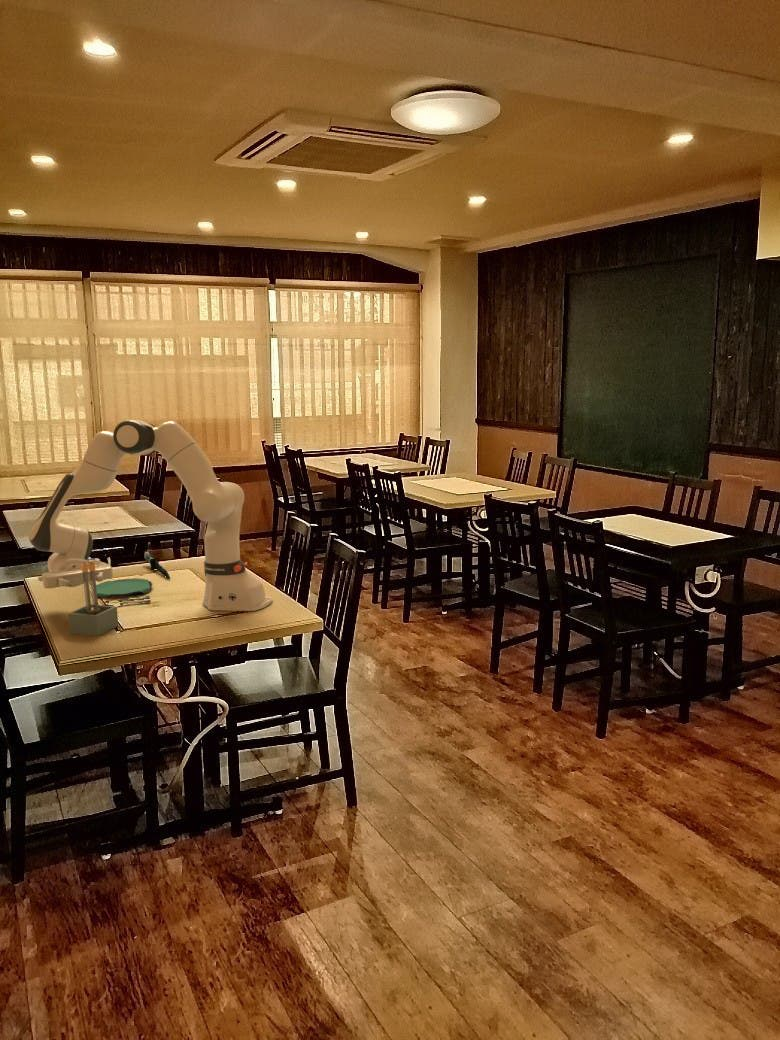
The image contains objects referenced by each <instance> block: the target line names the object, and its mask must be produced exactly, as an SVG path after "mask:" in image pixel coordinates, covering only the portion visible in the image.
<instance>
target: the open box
mask: <svg viewBox="0 0 780 1040" xmlns="http://www.w3.org/2000/svg"><path fill="white" fill-rule="evenodd" d="M91 607H93V603H91ZM85 608H86V605H84V606H83V607H80V608H78V609H76V610H73V611H71V612H69V613H68V614H67V615H68V617H67V618H68V626H69V633H70V634H72V633H73V634H72V635H74V634H75V635H84V636H92V637H99V636H101V635H103V634H105V633H107V632H109V631H111V630H114V629H115V628H117V627H119V617H118V607H115V606H112V605H105V604H103V605H101V604H98V608H100V611H99V614H97V615H93V614H94V613H92V615H89V614H87V612H86V611H85Z"/></svg>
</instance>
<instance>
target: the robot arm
mask: <svg viewBox="0 0 780 1040" xmlns="http://www.w3.org/2000/svg"><path fill="white" fill-rule="evenodd" d="M154 452H158V453H159V454H160V455H161V456H162V458H163V459H164V460H165V462H166V463H167V464H168V465H169V466H170V468H171V469H172V470H173V472H174V474H175V475H176V476H177V477H178V479H179V480H180V481H181V483H182V484H183V486H184V488H185V489H186V492H187V493H188V497H189V498H190V500H191V503H192V511H193V513H194V515H195V516H196V517H197V519H199V521H203V522H205V523H207V526H206V531H205V534H204V539H203V541H204V559H205V560H204V562H203V565H204V566H203V568H204V577H205V589H204V595H203V600H202V605H203V606H204V607H206V608H207V610H209V611H224V612H225V611H230V612H232V611H234V612H238V611H239V612H254V611H259V610H261V609H264V608H266V607H268V606H269V605H270V604H272V603H273V598H272V596H268V595H266V593H265V587H264V585H263V583H262V581H260V580H259V579H257V578H256V577H254V576H253V575H252V574H251V573H250V572H248V571H247V568H246V566H247V565H248V561H245V562H243V560H242V559H241V552H240V550H241V549H240V529H241V522H242V512H243V505H244V502H245V492H244V490H243V488H242V487H241V486H240V485H239V484H237V483H234V482H229V481H221V482H220V481H219V480H218V478H217V475H216V474H215V472H214V469H213V465H212V464H213V463H212V462H211V460H210V459H209V458H208V456H207V454H206V453H205V452H204V450H202V448H201V447H200V445H199V444H198V443H197V441H195V439H194V438H193V437H192V436H191V434H190V433H189V432H187V430H186V429H184V428H183V426H181V425H180V424H179V423H178V422H176V421H173V420H169V421H165V422H162V423H160V424H159V425H157V426H155V425H153V424H152V423H149V422H147V421H144V420H140V419H126V420H123V421H121V422H120V423H118V424H117V425H116V426H115V428H114V430H113V432H112V431H108V430H103V431H99V432H97V433H96V434H95V435H94V436H93V438H92V439H91V441H90V443H89V445H88V446H87V449H86V450H85V453H84V455H83V458H82V461H81V463H80V465H79V466H78V467H77V468H76V469H75V470H74V471H72V472H69V473H67V474H65V475H64V476H63V478H62V479H61V481H60V482H59V483H58V485H57V487H56V489H55V490H54V492H53V494H52V496H51V497H50V499H49V500H48V503H47V504H46V506H45V507H44V509H43V511H42V513H40V516H39V517H38V518H37V519H36V522H35V523H34V524H33V526H32V528H31V529H30V533H29V536H28V537H29V538H28V539H29V542H30V544H31V545H32V547H33V548H34V549H35V550H36V551H40V552H47V553H48V552H51V553H52V554H51V555H50V556H49V557H48V560H47V570H48V571H45V572H43V573H42V574H41V576H38V577H37V579H38V581H39V582H42V586H43V588H44V589H48V590H49V589H56V588H62V587H64V588H76V587H79V586H80V585H84V581H83V572H82V570H81V564H82V563H86V564H87V565H88V563H89V562H93V563H94V564H95V580H96V582H97V583H102V582H104V581H108V580H111V579H112V578H113V577H114V575H113V572H114V571H113V567H112V566H111V565H110V564H108V563H106V562H105V561H104V562H103V561H101V560H100V559H99V558H90V555H91V553H92V551H93V548H94V547H93V546H94V540H93V536H92V534H91V532H90V531H89V530H88V528H83V527H81V526H76V525H71V524H67V523H62V522H59V521H57V519H58V517H59V516H60V514H61V512H62V511H63V508H64V507H65V506H66V504H67V502H68V501H69V500H70V499H71V498H72V497H74V496H78V495H83V494H95V493H101V492H103V491H106V490H107V489H109V488H110V487H111V486H112V485H113V483H114V481H115V479H116V476H117V475H118V471H119V468H120V466H121V463H122V461H123V459H124V458H125V457H126V456H127V455H134V456H148V455H151V454H153V453H154ZM88 582H89V583H91V580H90V570H89V569H88Z"/></svg>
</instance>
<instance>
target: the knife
mask: <svg viewBox="0 0 780 1040" xmlns="http://www.w3.org/2000/svg"><path fill="white" fill-rule="evenodd" d="M143 555H144V559H145V560H146V561H147V562H148V564H149V566H150V570H151V571H152V570H154V569H157V570H156V571H158V572H159V574H161V575H162V574H163V575H164V577H165V576H166V577H167V578H169V579H168V580H171V576H170V574H169V572H168V570H167V569H165V568H164V567H163V566H162V565H161V564H160V563H159V557H154V558H153V557H152V555H151V554H150V553H149V551H148V550H144V553H143ZM154 571H155V570H154ZM163 575H162V576H163ZM166 577H165V578H166ZM167 578H166V579H167Z"/></svg>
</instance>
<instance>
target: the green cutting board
mask: <svg viewBox="0 0 780 1040" xmlns="http://www.w3.org/2000/svg"><path fill="white" fill-rule="evenodd" d="M152 587H153V582H151V580H148V579H145V578H137V577H135V578H125V579H122V578H121V579H116V580H105V581H102V582H99V583H96V590H97V598H98V597H99V598H106V597H113V596H114V597H115V598H117V597H125V596H127V599H129V598H135V599H132V600H131V599H130V600H128V601H132V602H135V603H142V602H151V603H152V601H151V598H150V595H146V596H145V595H144V596H145V597H143V598H139V597H140V596H137V597H136V596H135V597H134V596H132V595H136V594H140V593H143V594H144V593H146V592H148V593H149V592H150V590H151V588H152ZM128 596H130V597H128ZM144 599H150V600H144ZM134 600H138V601H137V602H136V601H134ZM128 603H129V602H125V603H120V605H123V604H128Z"/></svg>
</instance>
